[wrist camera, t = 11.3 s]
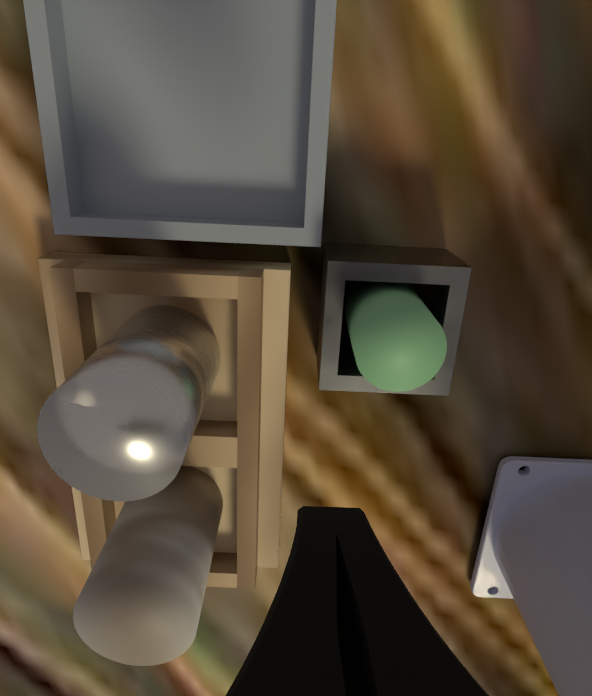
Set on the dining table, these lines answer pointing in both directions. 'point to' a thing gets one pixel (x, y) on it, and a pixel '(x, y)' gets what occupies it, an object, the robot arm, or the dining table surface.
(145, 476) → the cylinder
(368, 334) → the button
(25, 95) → the dining table surface
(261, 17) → the tray
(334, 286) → the switch box
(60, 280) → the light brown divided box
